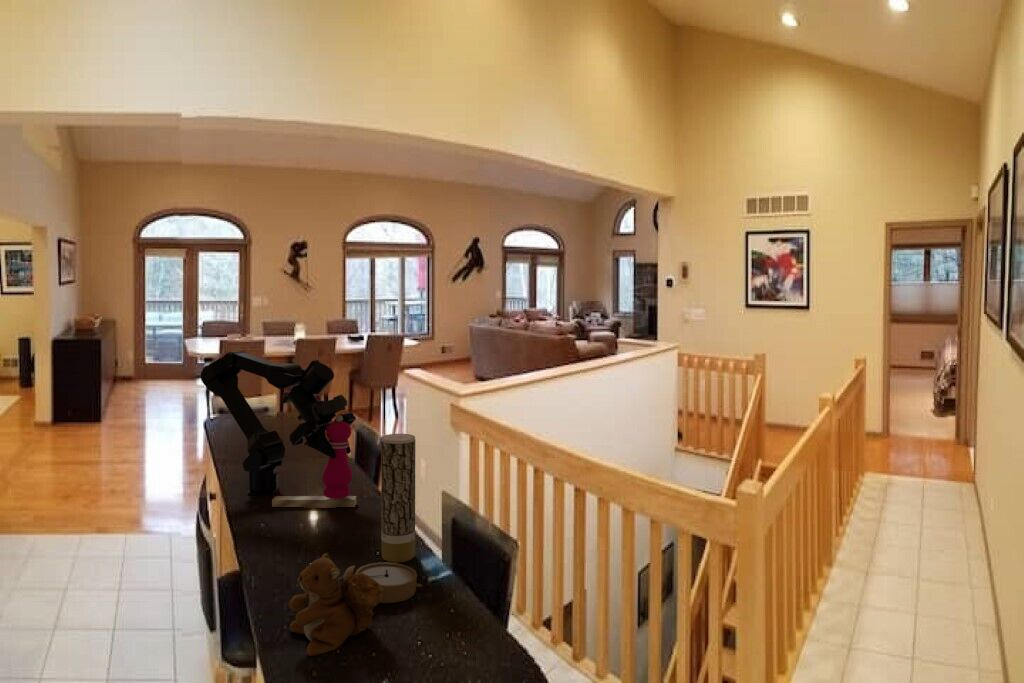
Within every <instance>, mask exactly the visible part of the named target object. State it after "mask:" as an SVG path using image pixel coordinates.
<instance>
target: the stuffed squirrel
mask: <svg viewBox="0 0 1024 683" xmlns="http://www.w3.org/2000/svg"><path fill="white" fill-rule="evenodd" d="M340 574H341V570H340V568H338V567H337V565H336V564H335V563H334V562H333V560H332V559H330V555H329V553H324V554H322V555H321V557H319V558H317V559H315V560H313V561H312V562H311V563H310V564H308V565H307V566H306V567H305V568H304V569H303V570H301V572H300V574H299V576H298V578H297V579H296V582H297V583H296V587H297V588H298V587H299V586H300V588H301V589H302V591H304V593H303V592H302V593H300V594H296V595H293V596H292V597H291V599H290V600H289V601H288V607H289V609H290V610H291V611H292V612H297V613H296V615H295V620H293V621H292V622H291V623H290V624H289V629H290V630H289V631H290V632H292V633H294V634H295V633H296V634H300V635H305V636H306V638H307V640H308V641H309V643H308V645H307V647H306V650H305V651H306V655H307V656H310V657H314V656H318V655H321V654H325V653H329V652H331V651H332V652H333V651H335V650H336V649H338V648H340V646H341V645H343V643H344V642H345V641H346V640H347V639H348V637H352V636H357V635H359V634H360V633H362V632H364V631H366V629H367V628H368V627H369V626H370V625H371V624H372V618H373V616H374V614H375V613H374V612H373V610H374V607H377V605H379V604H380V603H379V602H381V599H382V596H383V595H382V593H381V591H383V588H382V587H381V585H379V583H378V582H376V581H375V580H374V579H372V578H371V577H369V576H368V575H365V574H364V575H363V573H359V574H354V575H350V576H348V577H347V578H346V579H345V580H343V581H342V582H341V583H339V581H338V579H340Z"/></svg>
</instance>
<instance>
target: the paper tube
mask: <svg viewBox="0 0 1024 683" xmlns="http://www.w3.org/2000/svg"><path fill="white" fill-rule="evenodd" d="M380 443H381V446H380V447H381V448H380V451H381V452H380V461H381V462H380V463H381V464H380V465H381V467H380V469H381V471H380V474H381V475H380V482H381V483H380V486H381V487H380V489H381V490H380V493H381V497H380V498H381V499H380V503H381V504H380V506H381V507H380V508H381V509H380V511H381V512H380V513H381V514H380V517H381V519H380V520H381V523H380V524H381V525H380V526H381V529H380V530H381V532H380V533H381V535H380V536H381V537H380V538H381V539H380V540H381V558H382V559H383V560H384V561H385V562H388V563H398V564H402V563H406V562H409V561H411V560H412V559H414V557H415V555H416V436H415V435H413V434H410V433H389V434H385V435H383V436H381V440H380Z"/></svg>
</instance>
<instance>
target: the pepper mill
mask: <svg viewBox="0 0 1024 683" xmlns="http://www.w3.org/2000/svg"><path fill="white" fill-rule="evenodd" d="M335 419H336V421H334V420H335ZM334 420H333V421H334V422H332V423H330V424H329V425H328V427H327V429H326V431H325V436H326V438H327V439H328V442H329V443H330V445H331V447H332V448H333V450H334V452H335V454H336V457H335V458H334V459H333V458H331V457H329V456H328V461H327V463H326V465H325V468H324V469H323V472H322V476H321V481H322V483H323V484H324V485H325V486H324V488H323V496H325V497H328V498H344V497H347V496H350V491H351V490H350V486H349V485H350V484H351V482H352V480H353V472H352V469H351V466H350V464H349V462H348V457H347V456H348V455H347V453H346V451H347V447H348V446H349V445H350V441H349V438H350V437H351V435H352V428H351V425H350V426H349V424H348V423H346V422H344V421H342V420H343V417H342V416H341V415H339V414H337V415H336V416H335V417H334ZM348 443H349V445H348Z"/></svg>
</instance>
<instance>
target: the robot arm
mask: <svg viewBox="0 0 1024 683" xmlns="http://www.w3.org/2000/svg"><path fill="white" fill-rule="evenodd" d="M242 371H244V372H248V373H250V374H253V375H255V376H258V377H261V378H264V379H265V380H266V381H267V383H268V384H269V385H270V386H272V387H274V388H276V389H279V390H282V389H283V390H284V389H288V388H289V389H290V388H291V389H290V390H289V391H285V392H284V393H283V398H282V404H288V403H291V404H292V406H293V407H294V408H295V410H296V411H297V412H298V414H299V415H298V416H297V420H298V421H303V423H298V425H297V426H296V428H294V429H293V431H291V433H289V442H291V444H292V445H293V447H296V446H301V445H302V444H303V443H304V438H305V440H306V441H305V443H304V444H303V445H304V447H309V448H312V449H314V450H316V451H318V452H319V453H322V454H323V455H326V456H327V457H328V458H329V457H331V458H333V459H334V458H335V457H336V454H335V452H334V450H333V448H332V447H331V445H330V443H329V442H328V441H329V439H328V437H327V435H326V429H327V427H328V425H329V424H330V423H332V422H334V421H336V419H335V418H336V416H337V415H336V413H338V412H341V411H346V407H347V406H348V400H347V398H345V397H344V395H343V394H339V395H336V396H333V398H332V399H330V400H327V401H324V400H319V398H318V397H317V396H316V395H320V394H321V393H322V392H323V391H324V390H325V389H326V387H327V386H328V385H329V384H330V383H331V382H332V381H333V380H334V378H335V373H334V371H333V369H332V368H330V367H329V366H328V365H326V364H323V363H321V361H319V359H316V360H311V362H309V364H308V366H307V367H306V369H303V368H302V366H301V365H300V364H298V363H288V362H275V361H272V360H271V361H270V360H268V359H265V358H263V357H258V356H256V355H253V354H249V353H247V352H246V351H243V350H235V351H228V352H227V353H225V354H224V355H223V356H222V357H220V358H218V359H216V360H215V361H213V362H210V363H209V364H208V365H205V366H204V367H203V368H202V370H201V373H200V380H201V383H202V384H203V386H205V387H206V388H207V390H208V391H209V392H211V393H212V394H215V395H216V396H217V397H220V398H221V400H222V402H223V403H224V405H225V406H226V408H227V409H228V411H229V412H230V414H231V416H232V417H233V419H234V420H235V422H236V424H237V425H238V427H239V429H240V430H241V431H242V433H243V434H244V436H245V438H246V439H247V450H246V451H247V452H248V456H247V457H246V459H244V460H243V462H242V463H241V464H242V467H243V471H245V472H247V473H248V476H249V477H248V481H249V482H248V484H249V490H248V491H247V495H274V493H276V492H277V491H278V489H279V488H278V487H280V483H279V481H280V478H279V475H280V473H279V472H278V471H277V467H281V466H282V464H283V460H284V458H285V453H286V447H285V444H284V440H282V438H281V437H280V435H279V433H278V432H277V431H276V430H271V431H269V430H266V428H264V425H263V424H262V423H261V421H260V420H259V418H258V416H257V415H256V414H255V412H254V410H253V409H252V407H251V406H250V404H249V402H248V401H247V399H246V397H244V395H243V393H242V392H241V390H240V388H239V376H238V375H239V374H241V372H242ZM338 415H341V416H342V417H343V420H342V421H344V422H346V423H348V424H349V426H350V427H351V425H353V423H354V422H355V421H356V420H357V418H356V416H355V414H354V413H353V412H350V411H347V412H343V413H339V414H338ZM333 419H334V420H333ZM348 445H349V446H348V447H347V451H346V455H349V454H350V453H351V452H352V450H351V446H350V442H349V443H348Z"/></svg>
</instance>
